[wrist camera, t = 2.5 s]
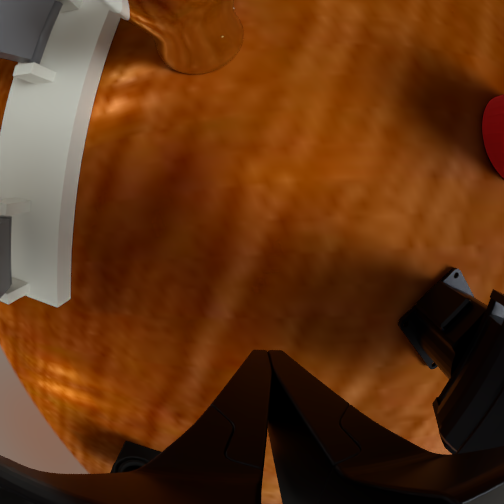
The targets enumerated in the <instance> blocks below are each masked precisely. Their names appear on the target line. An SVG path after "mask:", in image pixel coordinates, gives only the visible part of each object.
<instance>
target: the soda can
mask: <svg viewBox="0 0 504 504" xmlns="http://www.w3.org/2000/svg"><path fill="white" fill-rule="evenodd" d="M482 134H483V141H484V145H485V149H486V152H487V154H488V157H489V159H490V161H491V163H492V164H493V166H494V168H495V169H496V171H497V172H498V173H499V174H500V176H502V177H503V178H504V95H500V96H497V97H494V98H493V99H491V100H490V101H489V103H488V104H487V106H486V108H485V110H484V115H483V121H482Z"/></svg>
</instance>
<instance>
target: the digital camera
mask: <svg viewBox="0 0 504 504" xmlns="http://www.w3.org/2000/svg"><path fill="white" fill-rule="evenodd" d="M160 453H161V452H160V451H156V450H153V449H150V448H146V447H143V446H140V445H137V444H134V443H131V442H128V441H126V442H125V443H124V445H123V447H122V450H121V452H120V454H119V456H118V458H117V460H116V462H115V463H114V465H113V467H112V470H111V473H122V472H130V471H134V470H136V469H139V468H141V467H142V466H144V465H146V464H147V463H149V462H150V461H151V460H153V459H154V458H155V457H156V456H158V455H159V454H160Z"/></svg>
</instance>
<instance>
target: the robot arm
mask: <svg viewBox="0 0 504 504" xmlns="http://www.w3.org/2000/svg"><path fill="white" fill-rule="evenodd" d="M455 273H456V275H455V277H454V274H455ZM490 297H491V299H490V302H489V304H488V306H487V305H485V304H484V303H482V302H481V301H479V300H477V299H476V298H474V296H473V294H472V292H471V290H470V288H469V286H468V284H467V282H466V280H465V279H464V277H463V275H462V273H461V271H460V270H459V269H457V268H452V269H451V270H450V271H449V272H448V273H447V274H446V275H445V276H444V277H443V278H442V279H441V280H440V281H439V282H438V283H437V284H436V285H435V286H434V287H433V288H432V289H431V290H430V291H429V292H428V293H427V294H425V295H424V296H423V297H422V298H421V299H420V300H419V301H418V302H417V304H416V305H415V306H414V307H413V308H412V309H410V310H409V311H408V312H407V313H406V314H405V315H404V316H403V317H402V318H401V319H400V320H399V322H398V325H399V327H400V328H401V330H402V331H403V333H404V334H405V335H406V337H407V338H408V339H409V341H410V342H411V343H412V345H413V346H414V347H415V349H416V350H417V352H418V353H419V354H420V356H421V357H422V359H423V360H424V361H425V363H426V364H427V366H428V367H429V368H430V369H435V368H436V367H437V366H438V367H439V368H440V369H441V370H442V372H443V373H444V374H445V375H446V376H447V377H448V379H449V381H448V383H447V384H446V386H445V387H444V389H443V391H442V392H441V394H440V395H439V397H437V398H436V399H435V401H434V402H433V408H434V412H435V416H436V420H437V424H438V428H439V434H440V437H441V440H442V442H443V444H444V447H445V448H446V449H448V451H449V452H451V453H452V455H442V454H436V453H432V452H429V451H427V450H425V449H422V448H420V447H419V446H417V445H415V444H413V443H411V442H409V441H407V440H406V439H404V438H402V437H400V436H398V435H397V434H395V433H393V432H391V431H389V430H388V429H386V428H384V427H383V426H381V425H379V424H378V423H376V422H374V421H373V420H371V419H370V418H369V417H367V416H366V415H364V414H363V413H361V412H360V411H359V410H357V409H356V408H355V407H353V406H352V405H349V403H348V402H346V401H345V400H344V399H343V398H341V397H340V396H339V395H337V394H336V393H335V392H333V391H332V390H331V389H330V388H328V387H327V386H326V385H324V384H323V383H322V382H321V381H319V380H318V379H317V378H316V377H314V376H313V375H312V374H310V373H309V372H308V371H307V370H305V369H304V368H303V367H302V366H300V365H299V364H298V363H297V362H296V361H294V360H293V359H292V358H291V357H289V356H288V355H287V354H286V353H284V352H283V351H281V350H269V351H268V352H267V351H266V350H253V351H252V352H251V353H250V355H249V356H248V357H247V359H246V360H245V361H244V363H243V364H242V365H241V366H240V368H239V369H238V370H237V372H236V373H235V374H234V376H233V377H232V378H231V380H230V381H229V382H228V383H227V385H226V386H225V387H224V388H223V390H222V391H221V392H220V394H219V395H218V396H217V397H216V399H215V400H214V401H213V402H212V404H211V405H210V406H209V407H208V408H207V410H206V411H205V412H204V413H203V415H202V416H201V417H200V418H199V419H198V420H197V421H196V422H195V424H194V425H193V426H191V427H190V428H189V429H188V430H187V431H186V432H185V433H184V434H183V435H182V436H180V437H179V438H178V439H177V440H176V441H175V442H173V443H172V444H171V445H170V446H169V447H167V448H166V449H165V450H164V451H162V452H161V453H160V454H159V455H158V456H156V457H155V458H154V459H153V460H151V461H150V462H149V463H147V464H146V465H144V466H142V467H141V468H139V469H136V470H134V471H130V472H122V473H105V474H56V473H48V472H42V471H38V470H35V469H31V468H28V467H26V466H23V465H21V464H18V463H16V462H14V461H12V460H10V459H8V458H5V457H3V456H0V504H261V489H262V478H263V468H264V459H265V449H266V439H267V429H268V432H269V438H270V443H271V448H272V453H273V458H274V463H275V468H276V473H277V478H278V483H279V488H280V493H281V498H282V503H283V504H504V294H502V293H500V292H498V291H496V290H494V289H493V291H492V293H491V296H490ZM406 321H407V323H406V324H405V325H403V324H404V322H406ZM433 362H434V363H433ZM432 363H433V364H432Z"/></svg>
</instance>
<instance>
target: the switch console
mask: <svg viewBox="0 0 504 504" xmlns="http://www.w3.org/2000/svg"><path fill="white" fill-rule="evenodd" d="M55 1H59V2H61V3H62V4H63V6H62V8H61V10H60V12H59V14H58V17H57V19H56V21H55V24H54V26H53V29H52V31H51V34H50V36H49V39H48V42H47V44H46V47H45V50H44V53H43V56H42V59H41V62H40V64H37V63H35V62H33V63H20V62H18V65H16V66H15V69H14V73H13V76H14V78H13V82H12V85H11V89H10V92H9V96H8V100H7V104H6V108H5V113H4V117H3V122H2V127H1V132H0V216H1V215H4V216H12V226H11V271H12V285H11V286H10V288H9V289H8V290H7V292H6V293H5V294H4V295H3V296H2V297H1V298H0V301H1V302H4V303H6V304H10V303H12V302H14V301H15V300H17V299H19V298H21V297H23V296H24V295H25V296H28V297H30V298H33V299H36V300H38V301H41V302H44V303H46V304H49V305H52V306H55V307H59V306H61V305H62V304H64V303H65V302H67V301H68V300H70V299H71V256H72V238H73V225H74V214H75V204H76V196H77V188H78V180H79V174H80V167H81V161H82V155H83V150H84V144H85V139H86V134H87V129H88V125H89V120H90V116H91V111H92V107H93V103H94V99H95V95H96V92H97V88H98V84H99V81H100V77H101V74H102V70H103V67H104V64H105V61H106V58H107V54H108V51H109V48H110V45H111V43H112V40H113V37H114V34H115V31H116V29H117V26H118V23H119V21H120V18H121V17H119V16H118V15H117V14H115V13H114V12H112V11H111V10H109V9H108V8H106V7H105V6H104V5H102V4H101V3H100V2H99V1H98V0H55Z"/></svg>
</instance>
